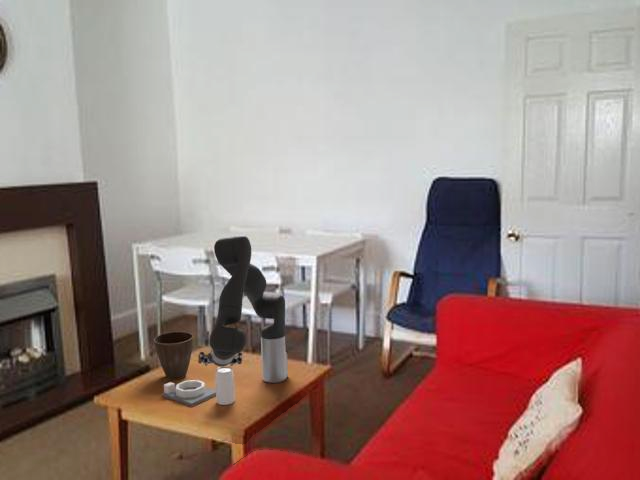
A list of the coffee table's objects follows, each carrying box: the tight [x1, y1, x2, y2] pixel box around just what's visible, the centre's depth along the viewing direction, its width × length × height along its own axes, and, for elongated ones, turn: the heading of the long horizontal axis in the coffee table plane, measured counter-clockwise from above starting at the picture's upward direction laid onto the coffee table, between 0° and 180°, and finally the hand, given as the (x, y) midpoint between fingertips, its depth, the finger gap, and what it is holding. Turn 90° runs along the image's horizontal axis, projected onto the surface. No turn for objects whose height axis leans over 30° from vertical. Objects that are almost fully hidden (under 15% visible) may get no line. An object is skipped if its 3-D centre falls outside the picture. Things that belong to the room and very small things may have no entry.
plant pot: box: [153, 331, 194, 381], centre depth 242 cm, size 15×15×16 cm
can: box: [214, 366, 236, 406], centre depth 217 cm, size 6×6×12 cm
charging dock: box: [161, 379, 216, 407], centre depth 224 cm, size 13×16×4 cm
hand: (218, 362), depth 210 cm, fingers open, 8 cm apart
